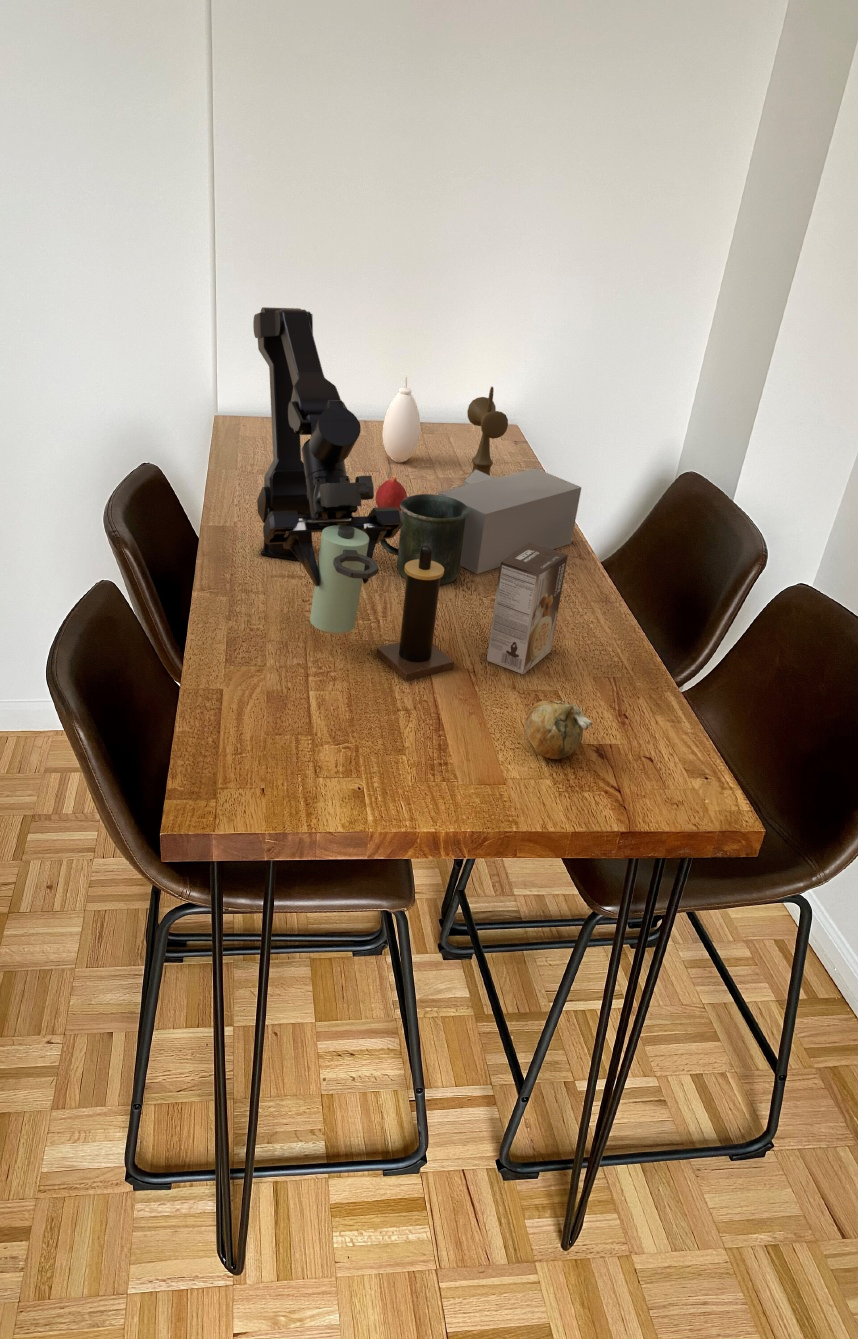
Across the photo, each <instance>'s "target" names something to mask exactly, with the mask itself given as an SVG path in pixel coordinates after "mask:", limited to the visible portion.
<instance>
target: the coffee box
mask: <svg viewBox="0 0 858 1339" xmlns="http://www.w3.org/2000/svg"><path fill="white" fill-rule="evenodd" d="M568 557H569V554H568V553H564V552H561V551H558V550H555V549H549V548H546V547H542V546H539V545H535V544H532V543H528V544H527V545H525V546H524V547H522V548H521V549H519V550H518V551H516V552H515V553H513V554H511V555H510V556H508V557H507V558H505V559H504V560H502V561H501V563H500V567H499V572H498V578H497V586H496V592H495V598H494V606H493V607H494V608H493V613H492V619H491V620H492V621H491V625H490V626H491V628H490V635H489V640H488V648H487V655H486V661H487V662H489V663H492V664H494V665H497V666H500V667H502V668H505V669H508V670H510V671H513V672H516V673H518V674H520V675H525V674H526V673H527V672H529V671H530V670H531V669H532V668H533V667H534V666H536V664H538V663H539V662H540V661H541V660H543V659H544V658H545V657H546V656H548V654H550V653H551V652H552V647H553V641H554V636H555V630H556V624H557V619H558V614H559V613H558V612H559V608H560V602H561V597H562V591H563V585H564V580H565V573H566V569H567V563H568V562H567V561H568V559H569V558H568Z"/></svg>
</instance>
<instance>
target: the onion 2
mask: <svg viewBox="0 0 858 1339" xmlns="http://www.w3.org/2000/svg"><path fill="white" fill-rule="evenodd" d="M593 724H594V723H593V722H592V720H590V719H589V718H587V716H586V715H585V714H584V711H583V710H582V709H581V708H579V706H577V704H575V703H570V702H566V701H565V700H563V701H562V700H540V701H537V702H536V703H535V704H534V705H532V707H531V708H530V710H528V713H527V714H526V716H525V718H524V730H525V735H526V737H527V740H528V741H529V743H531V745H532V747H533V748H534V751H535V752H536V753H537V754H539V755H541V756H543V757H545V758H547V759H551V760H561V759H565V758H567V757H568V756H570V755H572V754H573V753H574V752H575V751H576V750H577V749H578V747H580V744H581V742H582V741H583V736H584V731H586V730H588V729H589V728H590V727H592V726H593Z"/></svg>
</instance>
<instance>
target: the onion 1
mask: <svg viewBox="0 0 858 1339" xmlns="http://www.w3.org/2000/svg"><path fill="white" fill-rule="evenodd" d="M407 497H408V493H407V490H406V489H405V487H404V486H403V484H401V483H400V482H399V481H398V480H397V476H395V475H393V476H391V477H390V478H389V479H387V480H385V481H384V482H383V483H382V484H380V486H379V487H378V488H377V490H376V492H375V505H376V507H377V508H378V507H397V508H398V509H399V510H400V512H402V510H401V508H400V503H401V501H402V500H403V499H405V498H407Z"/></svg>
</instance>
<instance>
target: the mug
mask: <svg viewBox="0 0 858 1339" xmlns="http://www.w3.org/2000/svg"><path fill="white" fill-rule="evenodd" d="M400 508H401V513H402V517H403V523H404V524H403V526H402V527H401V528H400V530H399V541H398V547H395V546H393V545H392V544H390V543H389V542H388V541H387V539H381V540H380V542H379V544H380V546H381V547H382V548H383V550H384V551H386V552H387V553H388V554H392V555H393V556H396V557H397V561H396V569H397V571H398V573H399V575H400V576H401V577H403V578H404V579H405V580H406V577H407V574H406V573H405V571H404V567H405V564H406V563H407V562H409V561H411V560H417V559H420V549H421V547H422V546H423V545H429V546H431V548H432V558H431V561H434V562H437V563H439V564H441V565H442V566H443V568H444V575H443V576H442V577H441V578H440V585H439V586H442V585H447V584H450V583H452V582H454V581H456V579H457V578H458V577H459V574H460V567H461V566H460V560H461V552H462V544H463V536H464V528H465V520H466V517H467V516H468V514H469V508H468V507H467V506H466V505H465V504H464V503H462V502H460V501H459V500H456V499H453V498H450V497H446V496H441V495H438V494H431V493H430V494H429V493H424V494H423V493H421V494H414V495H410V496H407V498H405V499H403V500H402V501H401V503H400Z"/></svg>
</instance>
